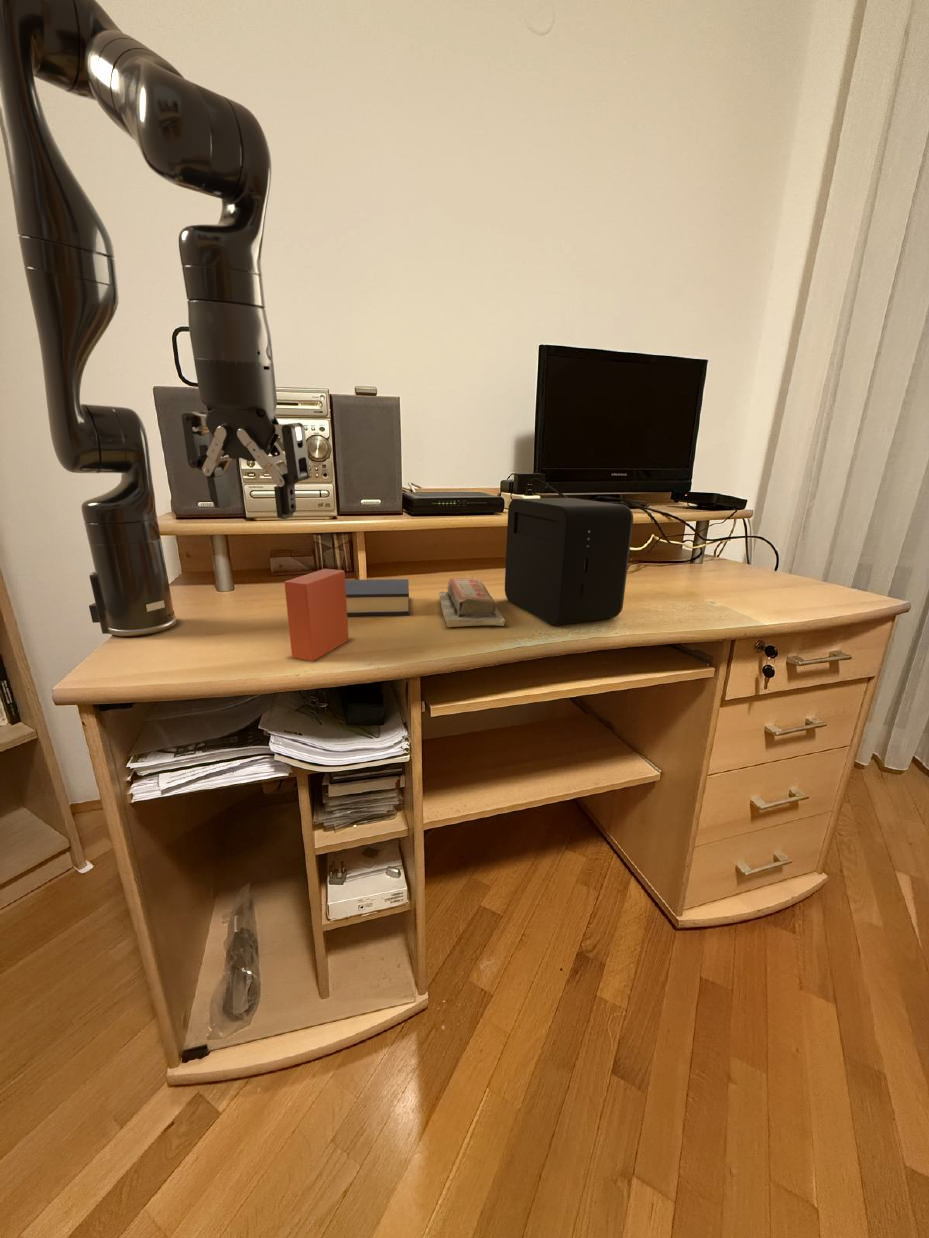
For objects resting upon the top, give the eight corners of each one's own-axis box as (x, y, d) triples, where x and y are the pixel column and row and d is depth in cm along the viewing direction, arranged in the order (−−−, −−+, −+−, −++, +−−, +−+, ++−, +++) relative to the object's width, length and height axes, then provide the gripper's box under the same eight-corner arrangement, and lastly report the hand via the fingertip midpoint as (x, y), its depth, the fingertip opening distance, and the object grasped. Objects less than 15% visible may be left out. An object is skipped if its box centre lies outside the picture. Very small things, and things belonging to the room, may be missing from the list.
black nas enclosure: (628, 620, 87) (642, 506, 81) (558, 629, 82) (568, 507, 76) (564, 592, 105) (572, 496, 99) (503, 598, 100) (508, 497, 93)
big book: (329, 616, 87) (328, 594, 85) (337, 599, 97) (336, 580, 96) (409, 615, 88) (408, 593, 87) (408, 598, 99) (408, 579, 97)
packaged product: (438, 575, 97) (487, 575, 98) (438, 599, 98) (487, 598, 100) (446, 600, 80) (506, 599, 81) (446, 628, 81) (505, 627, 83)
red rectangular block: (312, 661, 67) (305, 584, 64) (291, 657, 69) (284, 581, 65) (349, 640, 76) (345, 570, 72) (330, 637, 77) (325, 568, 73)
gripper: (146, 350, 49) (179, 511, 56) (272, 361, 46) (288, 529, 53) (202, 353, 55) (224, 497, 62) (315, 363, 52) (324, 513, 59)
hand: (254, 512), depth 58 cm, fingers open, 8 cm apart
